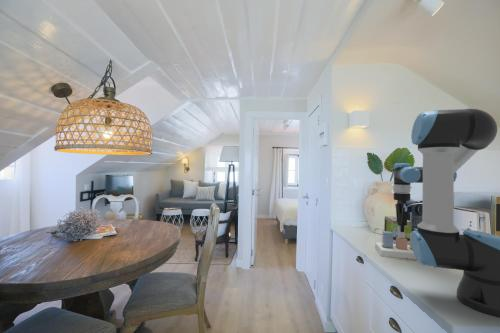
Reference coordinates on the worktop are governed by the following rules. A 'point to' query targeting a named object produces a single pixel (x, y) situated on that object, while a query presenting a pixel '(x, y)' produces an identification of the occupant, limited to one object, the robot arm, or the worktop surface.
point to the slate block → (387, 239)
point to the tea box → (392, 227)
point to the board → (394, 251)
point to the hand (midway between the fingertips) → (401, 237)
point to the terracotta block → (401, 243)
